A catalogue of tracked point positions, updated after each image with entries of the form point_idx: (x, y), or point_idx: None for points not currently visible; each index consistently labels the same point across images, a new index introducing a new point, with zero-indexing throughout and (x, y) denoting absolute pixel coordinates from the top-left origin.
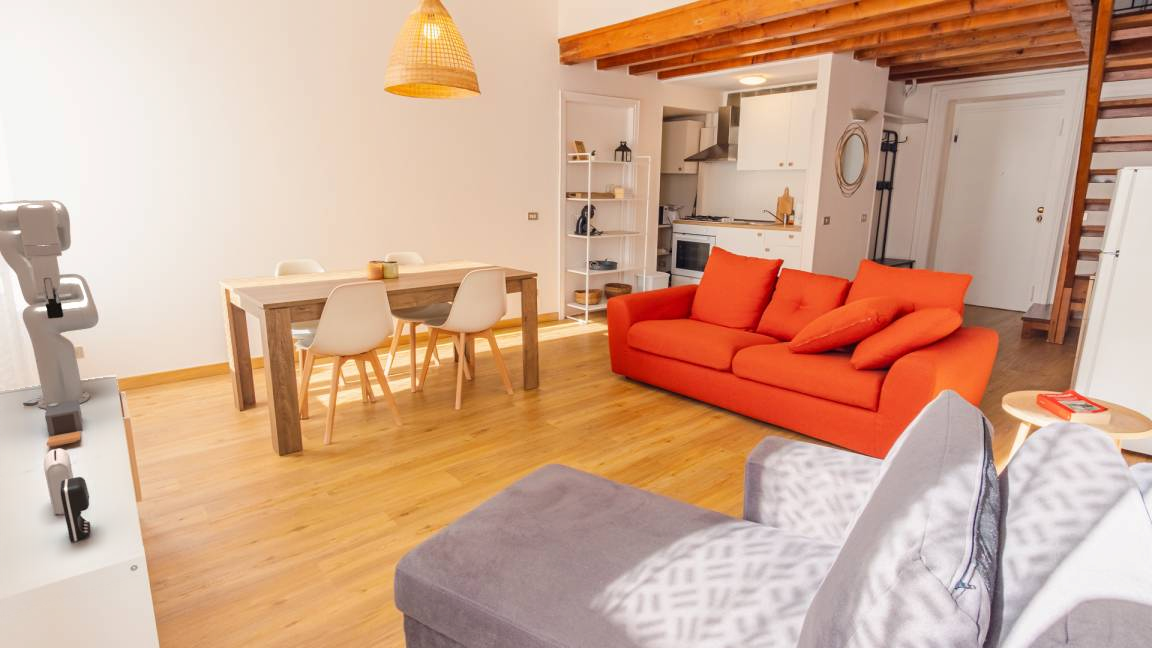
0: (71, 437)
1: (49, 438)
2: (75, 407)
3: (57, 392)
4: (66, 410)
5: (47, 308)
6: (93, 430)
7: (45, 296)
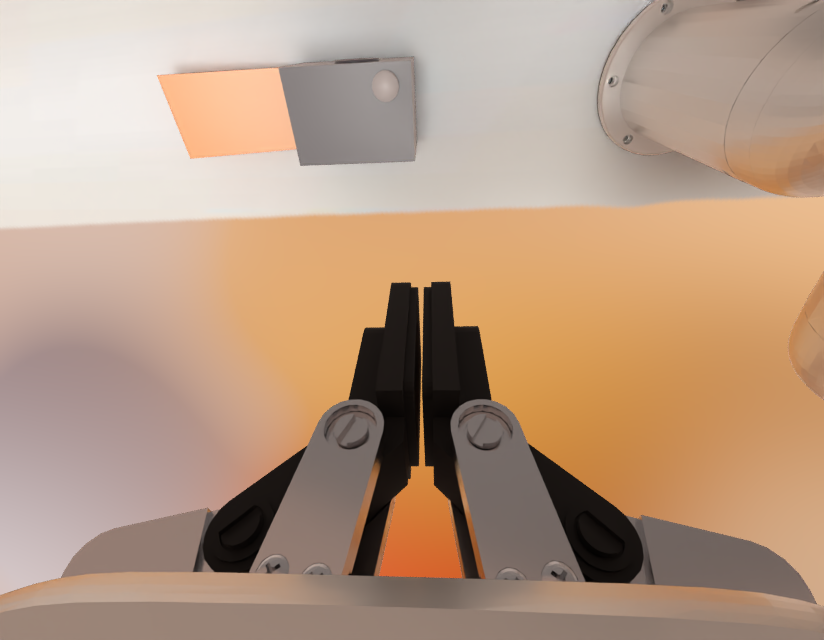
0: (196, 138)
1: (249, 71)
2: (334, 156)
3: (646, 70)
4: (315, 132)
5: (384, 356)
6: (339, 169)
7: (266, 539)
